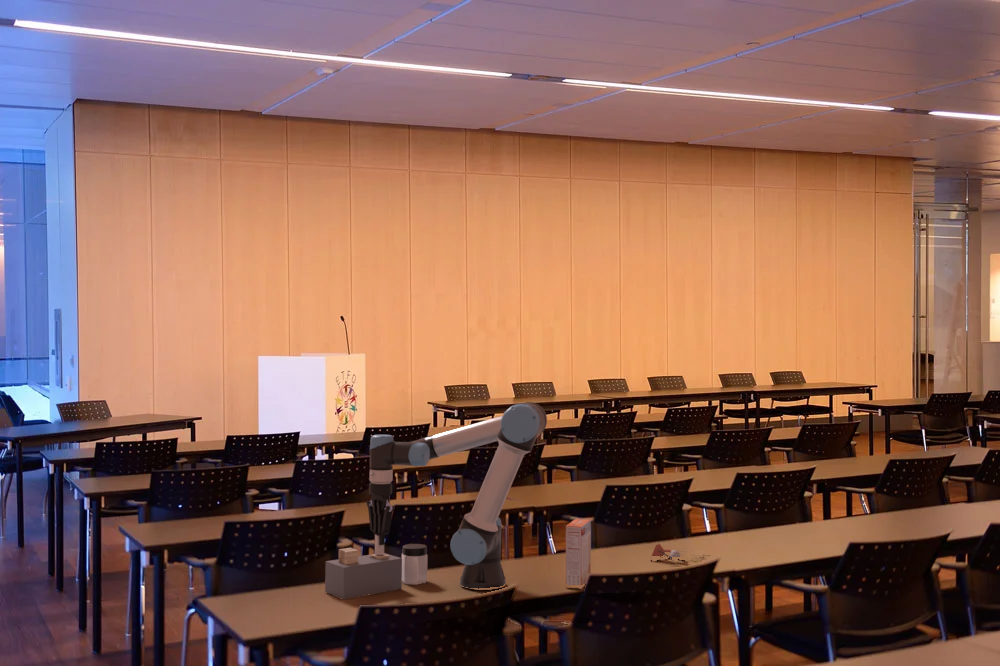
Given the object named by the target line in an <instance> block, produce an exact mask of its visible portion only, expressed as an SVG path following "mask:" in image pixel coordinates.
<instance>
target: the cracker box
mask: <svg viewBox="0 0 1000 666" xmlns="http://www.w3.org/2000/svg"><path fill="white" fill-rule="evenodd" d="M591 522H592V520H591V519H585V518H575V519H574V520H572V521H571V522H569V523H568V524H567V525H565V585H566V584H567V585H583V584H585V582H586V579H587V576H588V575H589V574H591V575H592V548H591V547H592V546H591V545H592V540H591V539H592V523H591Z"/></svg>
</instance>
